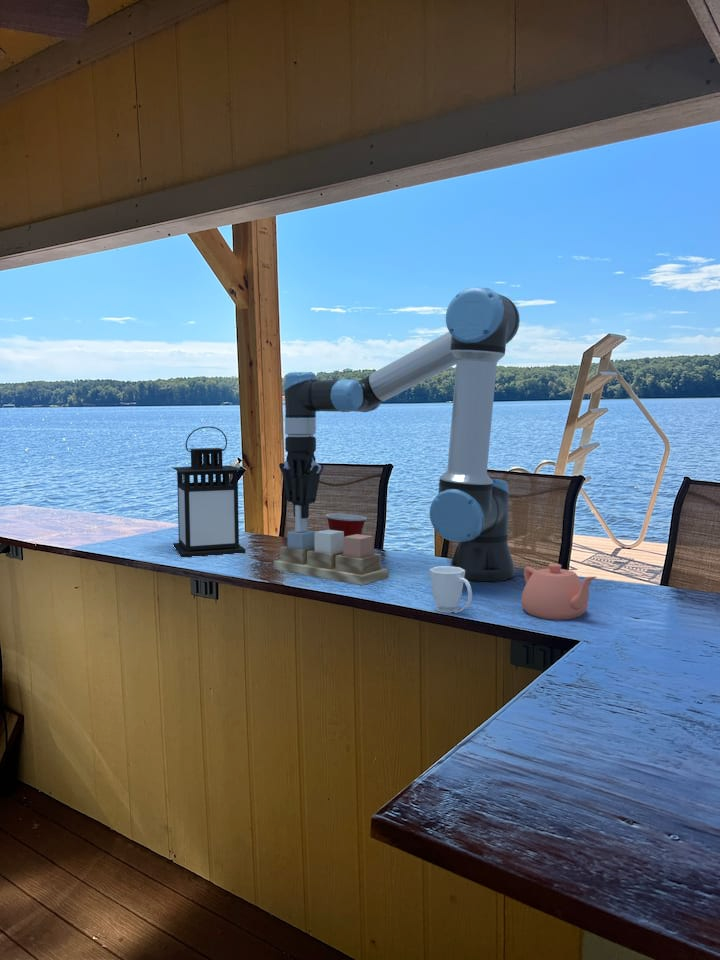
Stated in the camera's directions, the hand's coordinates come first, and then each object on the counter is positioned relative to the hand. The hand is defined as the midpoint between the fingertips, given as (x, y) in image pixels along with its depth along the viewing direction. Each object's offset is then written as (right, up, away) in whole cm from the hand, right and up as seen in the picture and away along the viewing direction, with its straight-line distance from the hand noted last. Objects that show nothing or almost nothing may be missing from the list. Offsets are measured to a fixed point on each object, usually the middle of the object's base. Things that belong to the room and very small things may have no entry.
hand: (301, 530), depth 183 cm
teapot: (+53, -13, -41) cm, 68 cm away
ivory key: (+7, -6, -5) cm, 11 cm away
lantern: (-28, -7, +26) cm, 39 cm away
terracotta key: (+14, -7, -11) cm, 19 cm away
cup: (+33, -13, -39) cm, 53 cm away
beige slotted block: (+7, -10, -5) cm, 13 cm away
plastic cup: (+11, -9, +11) cm, 18 cm away
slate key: (0, -6, 0) cm, 6 cm away
